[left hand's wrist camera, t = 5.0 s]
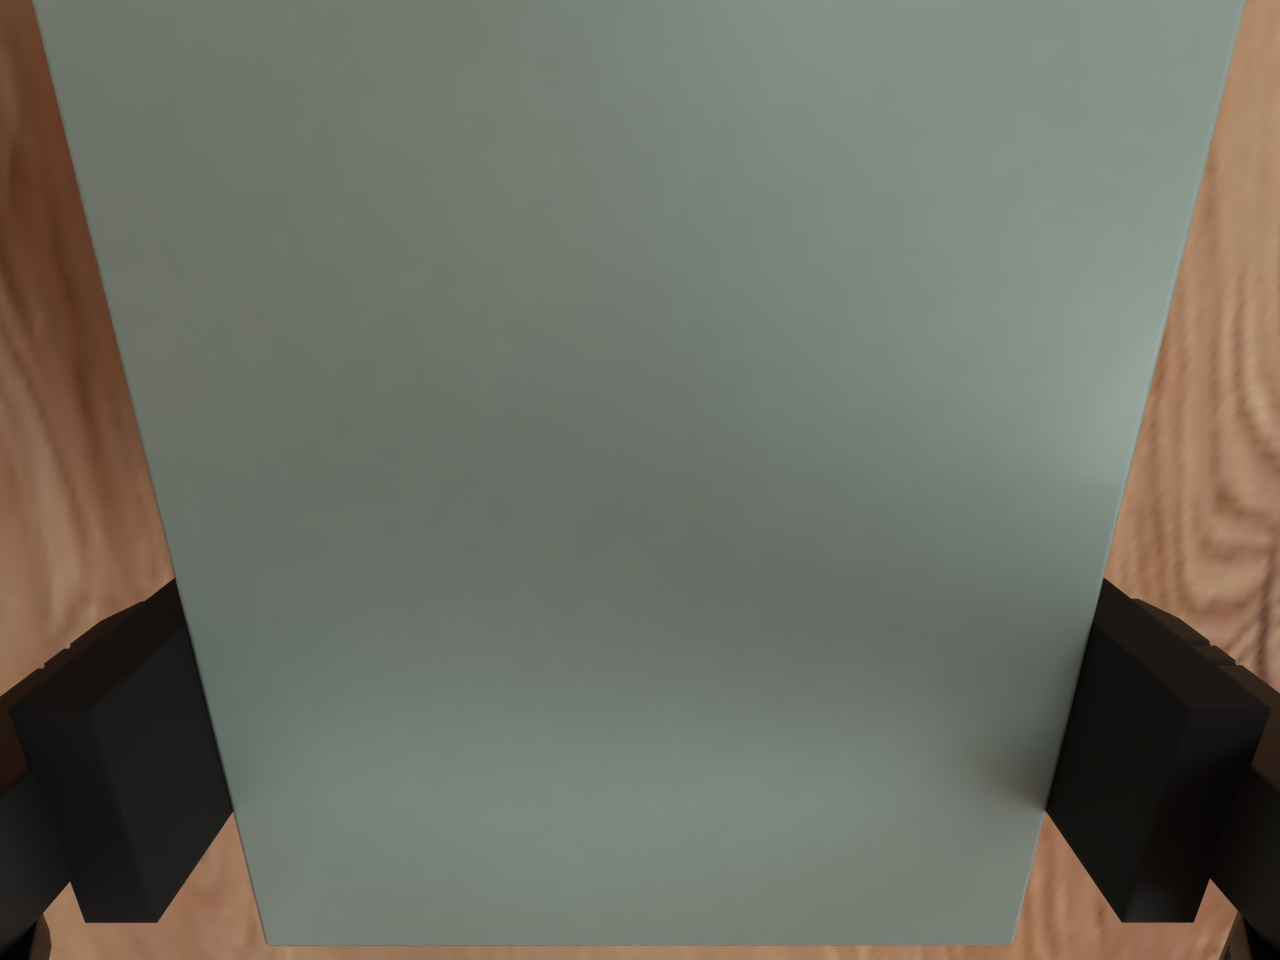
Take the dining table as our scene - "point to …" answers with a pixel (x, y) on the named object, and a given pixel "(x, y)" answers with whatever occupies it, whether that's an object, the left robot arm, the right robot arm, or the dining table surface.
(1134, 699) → the left robot arm
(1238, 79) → the dining table surface
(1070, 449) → the cabinet
